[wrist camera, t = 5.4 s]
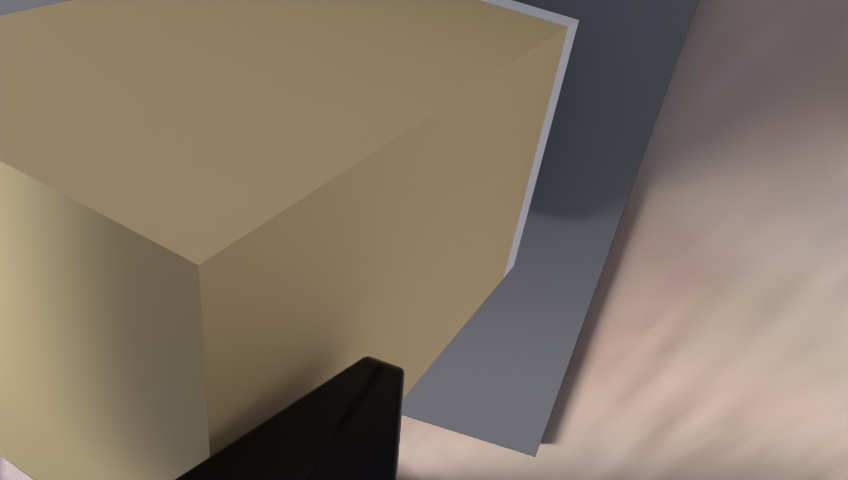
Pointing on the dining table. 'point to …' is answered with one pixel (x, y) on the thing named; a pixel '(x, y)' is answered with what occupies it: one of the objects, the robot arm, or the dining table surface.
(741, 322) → the dining table surface
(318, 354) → the pale yellow block
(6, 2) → the charcoal mat
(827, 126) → the dining table surface
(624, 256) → the dining table surface
